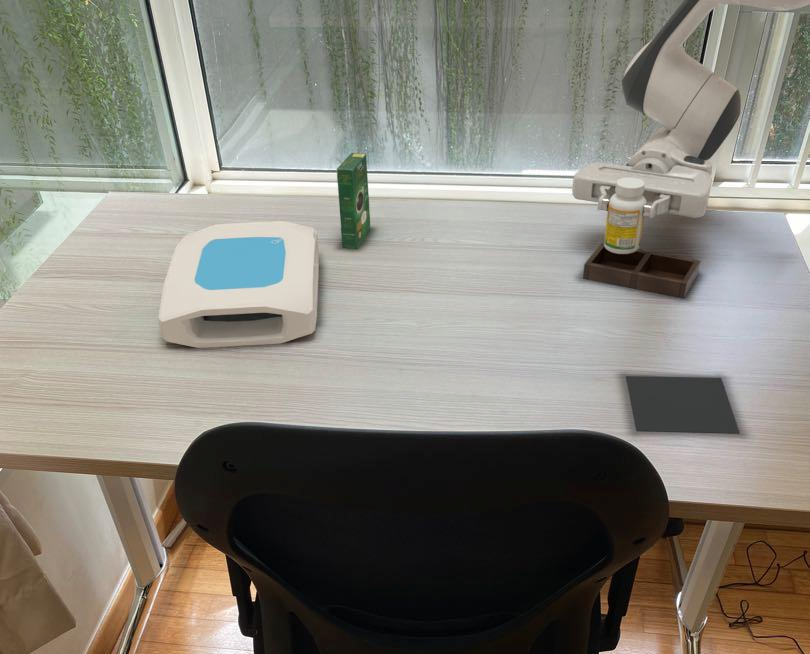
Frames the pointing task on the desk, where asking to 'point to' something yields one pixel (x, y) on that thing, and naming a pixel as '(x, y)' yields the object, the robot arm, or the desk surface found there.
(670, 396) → the mat
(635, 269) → the jar stand
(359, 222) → the coffee box
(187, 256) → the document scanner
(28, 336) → the desk surface
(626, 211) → the supplement bottle
